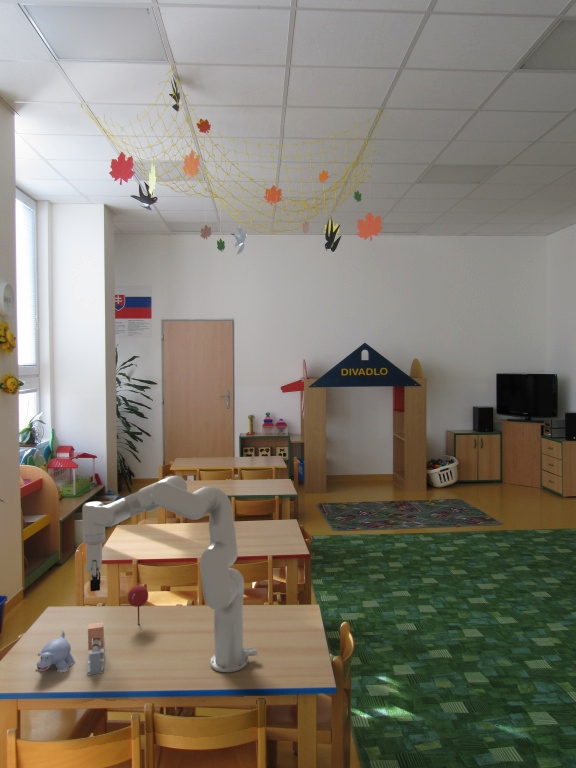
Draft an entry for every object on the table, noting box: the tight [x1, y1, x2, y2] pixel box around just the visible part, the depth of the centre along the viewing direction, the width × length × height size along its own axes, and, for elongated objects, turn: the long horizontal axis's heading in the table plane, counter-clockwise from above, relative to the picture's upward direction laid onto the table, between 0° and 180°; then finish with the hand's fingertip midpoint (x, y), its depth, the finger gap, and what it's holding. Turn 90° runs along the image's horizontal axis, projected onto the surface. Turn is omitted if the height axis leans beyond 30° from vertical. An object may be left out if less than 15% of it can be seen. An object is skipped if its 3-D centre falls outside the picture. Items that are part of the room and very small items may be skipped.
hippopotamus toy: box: [35, 630, 76, 673], centre depth 196 cm, size 11×15×10 cm
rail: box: [86, 638, 105, 676], centre depth 203 cm, size 5×23×7 cm, turn 16°
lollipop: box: [127, 585, 149, 625], centre depth 227 cm, size 8×8×15 cm
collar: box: [87, 621, 105, 652], centre depth 204 cm, size 5×4×8 cm
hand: (95, 586), depth 210 cm, fingers open, 5 cm apart
